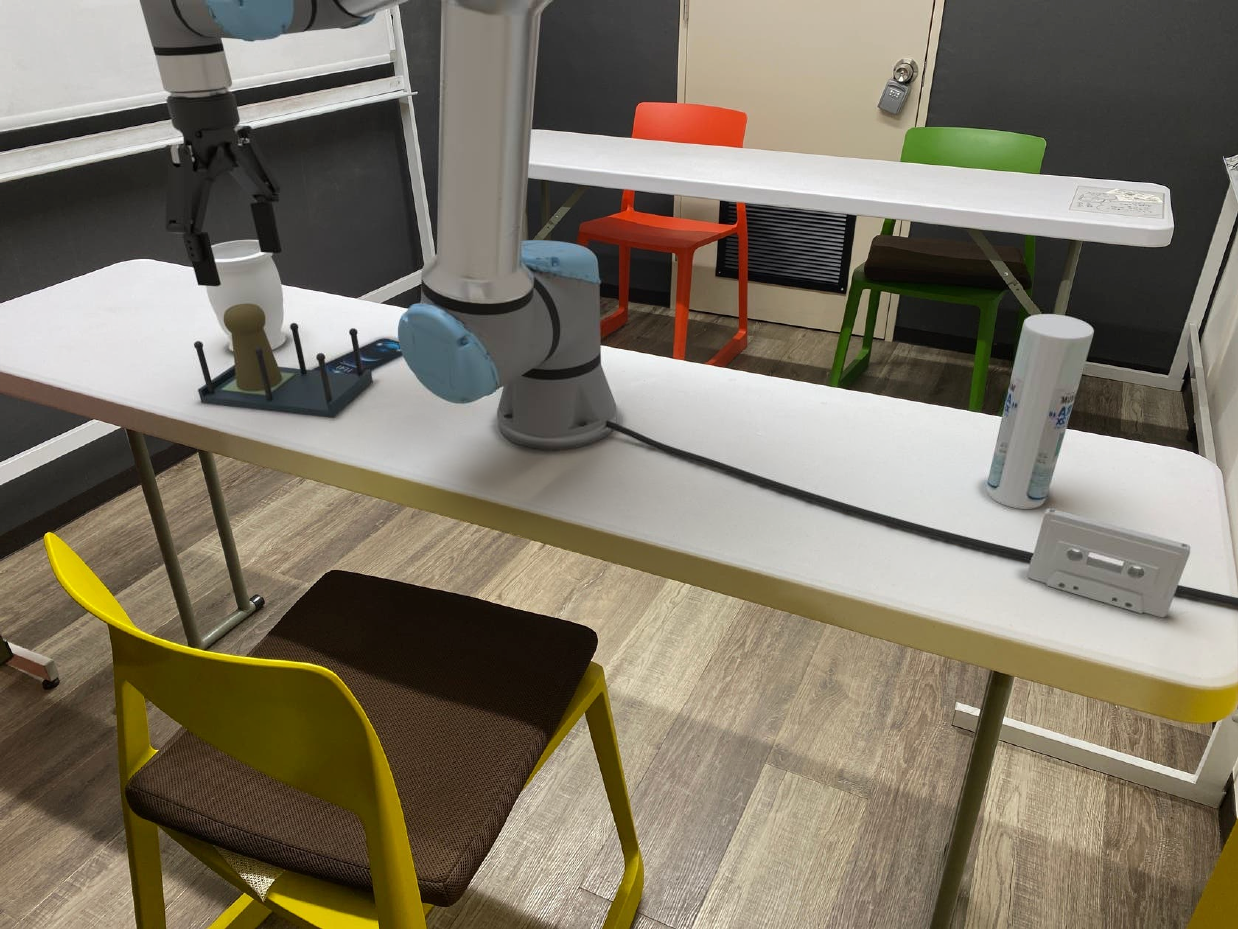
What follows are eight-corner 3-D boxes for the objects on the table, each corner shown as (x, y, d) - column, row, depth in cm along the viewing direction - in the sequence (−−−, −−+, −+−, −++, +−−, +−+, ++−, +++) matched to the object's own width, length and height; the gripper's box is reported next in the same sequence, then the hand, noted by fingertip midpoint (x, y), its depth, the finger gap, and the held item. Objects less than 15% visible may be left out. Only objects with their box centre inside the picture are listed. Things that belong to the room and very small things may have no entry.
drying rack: (373, 382, 127) (363, 325, 122) (333, 417, 118) (321, 357, 113) (248, 369, 131) (235, 314, 127) (201, 402, 122) (184, 344, 118)
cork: (229, 381, 125) (209, 306, 119) (270, 368, 128) (253, 295, 123) (248, 395, 121) (229, 318, 115) (290, 381, 125) (273, 306, 119)
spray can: (993, 472, 104) (1032, 309, 94) (1053, 489, 101) (1100, 322, 90) (977, 498, 99) (1016, 328, 89) (1039, 516, 96) (1086, 343, 86)
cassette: (1166, 610, 83) (1193, 542, 79) (1165, 622, 81) (1191, 553, 77) (1028, 570, 88) (1046, 504, 84) (1025, 580, 87) (1043, 514, 83)
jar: (270, 360, 134) (247, 262, 126) (208, 355, 135) (181, 258, 128) (305, 333, 143) (286, 240, 135) (246, 329, 144) (224, 237, 137)
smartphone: (419, 347, 137) (344, 382, 126) (419, 350, 137) (345, 386, 127) (383, 336, 141) (307, 370, 130) (383, 340, 141) (308, 374, 130)
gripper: (234, 77, 117) (270, 238, 128) (95, 109, 96) (152, 298, 107) (285, 77, 115) (317, 241, 126) (155, 110, 94) (207, 302, 105)
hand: (242, 267), depth 116 cm, fingers open, 13 cm apart
